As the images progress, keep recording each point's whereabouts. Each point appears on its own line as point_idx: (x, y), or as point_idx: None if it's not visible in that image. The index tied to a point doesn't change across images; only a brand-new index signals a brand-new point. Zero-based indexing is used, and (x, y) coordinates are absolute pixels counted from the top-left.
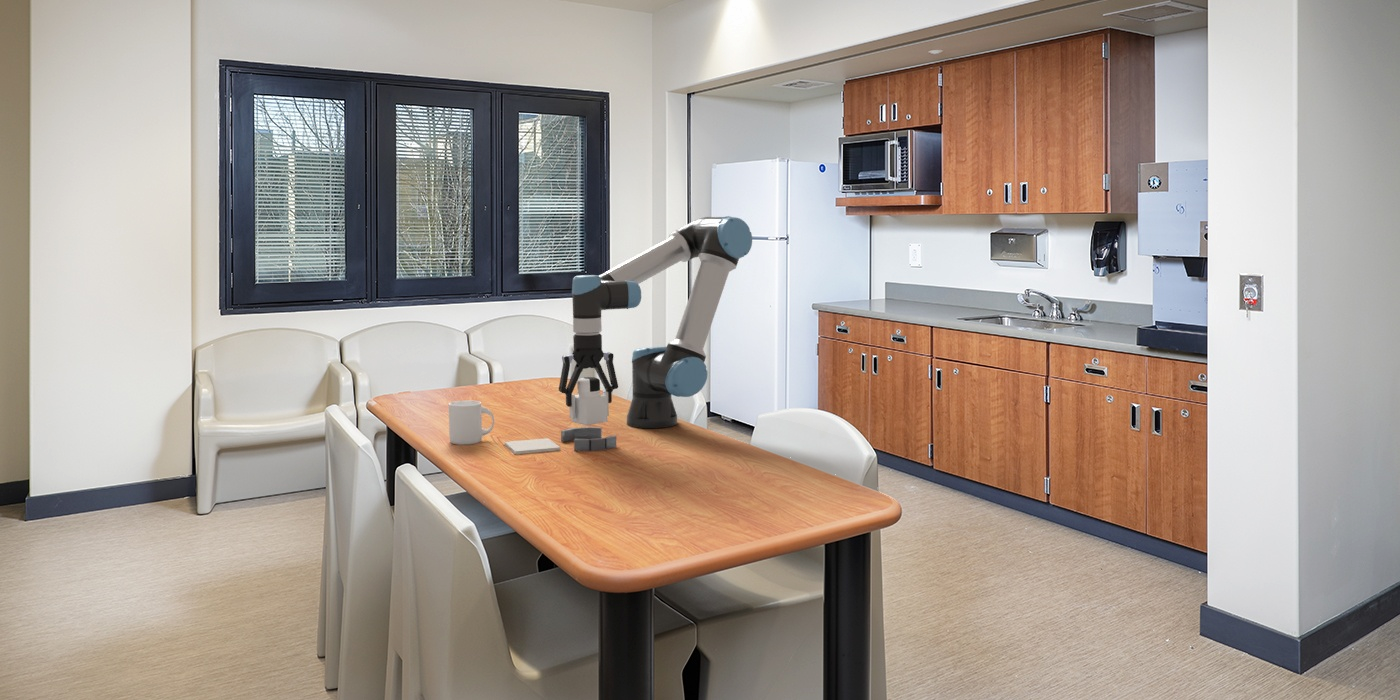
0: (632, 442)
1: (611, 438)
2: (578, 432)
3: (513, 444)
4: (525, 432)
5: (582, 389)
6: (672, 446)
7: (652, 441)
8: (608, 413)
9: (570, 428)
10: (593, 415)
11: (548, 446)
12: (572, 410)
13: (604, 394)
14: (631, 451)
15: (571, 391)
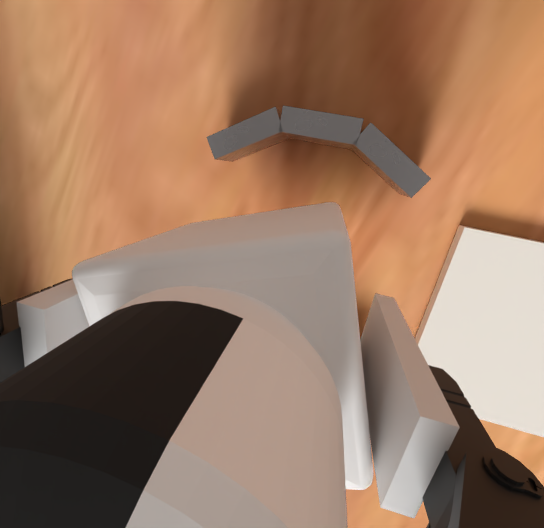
0: (140, 182)
1: (241, 123)
2: None
3: None
4: (379, 524)
5: (328, 422)
6: (30, 18)
7: (71, 153)
8: None
9: None
10: (280, 214)
11: (498, 272)
12: (408, 326)
13: (70, 331)
14: (208, 19)
15: (488, 483)
